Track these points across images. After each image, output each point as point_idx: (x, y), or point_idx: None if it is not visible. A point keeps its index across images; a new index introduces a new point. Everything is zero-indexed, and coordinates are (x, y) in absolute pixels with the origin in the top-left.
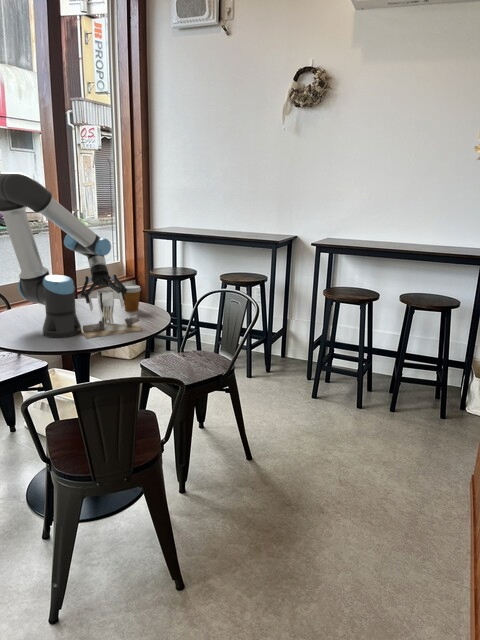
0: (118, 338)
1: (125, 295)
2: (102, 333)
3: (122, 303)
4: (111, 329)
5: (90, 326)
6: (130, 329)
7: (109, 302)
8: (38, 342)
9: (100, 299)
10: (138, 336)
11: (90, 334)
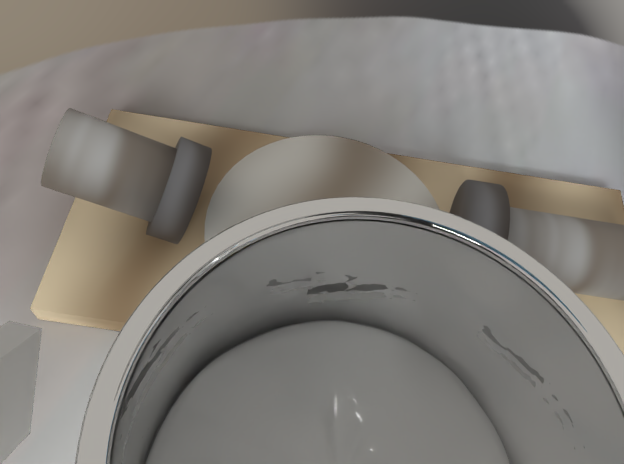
0: (384, 76)
1: None
2: (479, 169)
3: (21, 340)
4: (388, 178)
5: (597, 221)
6: (223, 132)
7: (321, 307)
8: None
9: (516, 385)
10: (239, 38)
11: (579, 200)
